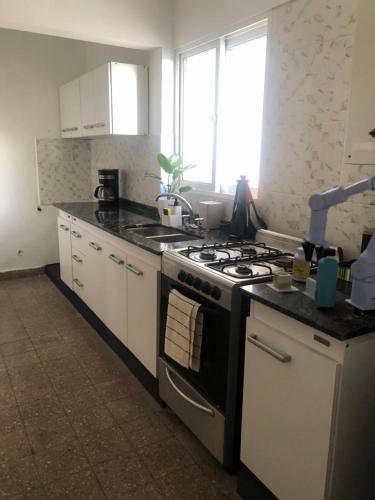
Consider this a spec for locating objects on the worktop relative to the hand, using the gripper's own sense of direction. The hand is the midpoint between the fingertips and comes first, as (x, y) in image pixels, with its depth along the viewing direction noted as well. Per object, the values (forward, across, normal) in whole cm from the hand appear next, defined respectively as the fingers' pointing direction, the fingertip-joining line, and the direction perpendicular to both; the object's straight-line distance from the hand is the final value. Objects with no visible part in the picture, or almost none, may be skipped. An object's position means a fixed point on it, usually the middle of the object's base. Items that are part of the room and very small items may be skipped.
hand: (313, 263), depth 155 cm
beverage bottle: (+10, +19, -7) cm, 22 cm away
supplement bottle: (+10, -13, +3) cm, 17 cm away
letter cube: (+9, -4, -10) cm, 14 cm away
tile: (+10, -4, -10) cm, 15 cm away
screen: (+10, +8, -4) cm, 13 cm away
